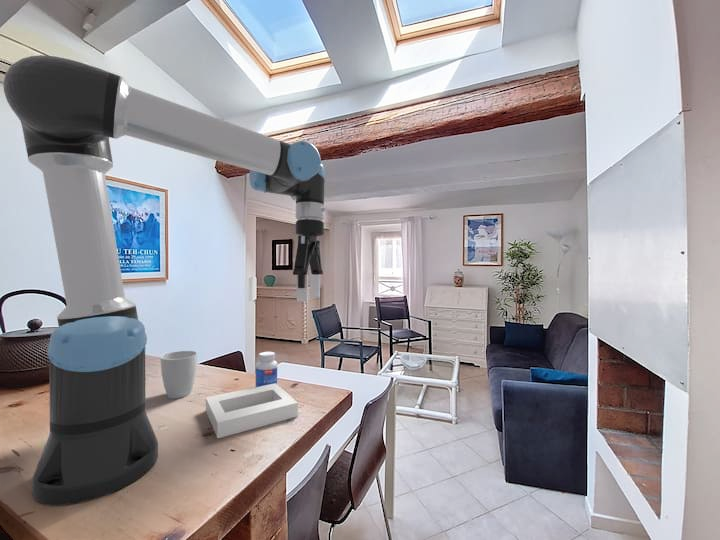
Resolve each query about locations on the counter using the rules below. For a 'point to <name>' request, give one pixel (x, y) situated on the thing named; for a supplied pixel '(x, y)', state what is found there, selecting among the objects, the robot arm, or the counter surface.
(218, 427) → the dock
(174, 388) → the cup
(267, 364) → the pill bottle
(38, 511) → the counter surface
